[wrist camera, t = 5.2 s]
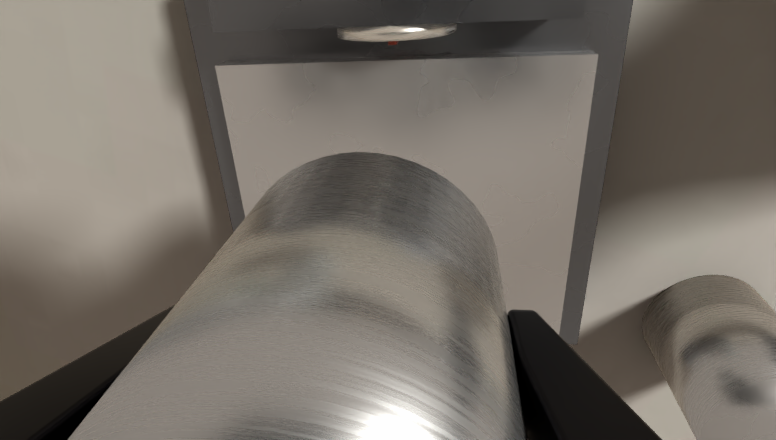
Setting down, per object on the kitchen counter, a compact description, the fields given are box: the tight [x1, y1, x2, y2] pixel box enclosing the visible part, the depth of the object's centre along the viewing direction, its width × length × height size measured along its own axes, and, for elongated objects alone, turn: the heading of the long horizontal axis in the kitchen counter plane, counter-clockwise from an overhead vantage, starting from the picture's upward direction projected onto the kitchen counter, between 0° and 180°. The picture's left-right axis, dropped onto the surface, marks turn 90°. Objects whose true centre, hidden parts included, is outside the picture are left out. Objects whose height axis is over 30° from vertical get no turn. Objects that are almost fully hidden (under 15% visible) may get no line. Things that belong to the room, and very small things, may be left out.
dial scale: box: [184, 0, 633, 344], centre depth 18 cm, size 14×15×5 cm
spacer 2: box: [642, 275, 776, 440], centre depth 20 cm, size 5×5×6 cm
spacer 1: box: [68, 152, 527, 440], centre depth 7 cm, size 5×5×6 cm
